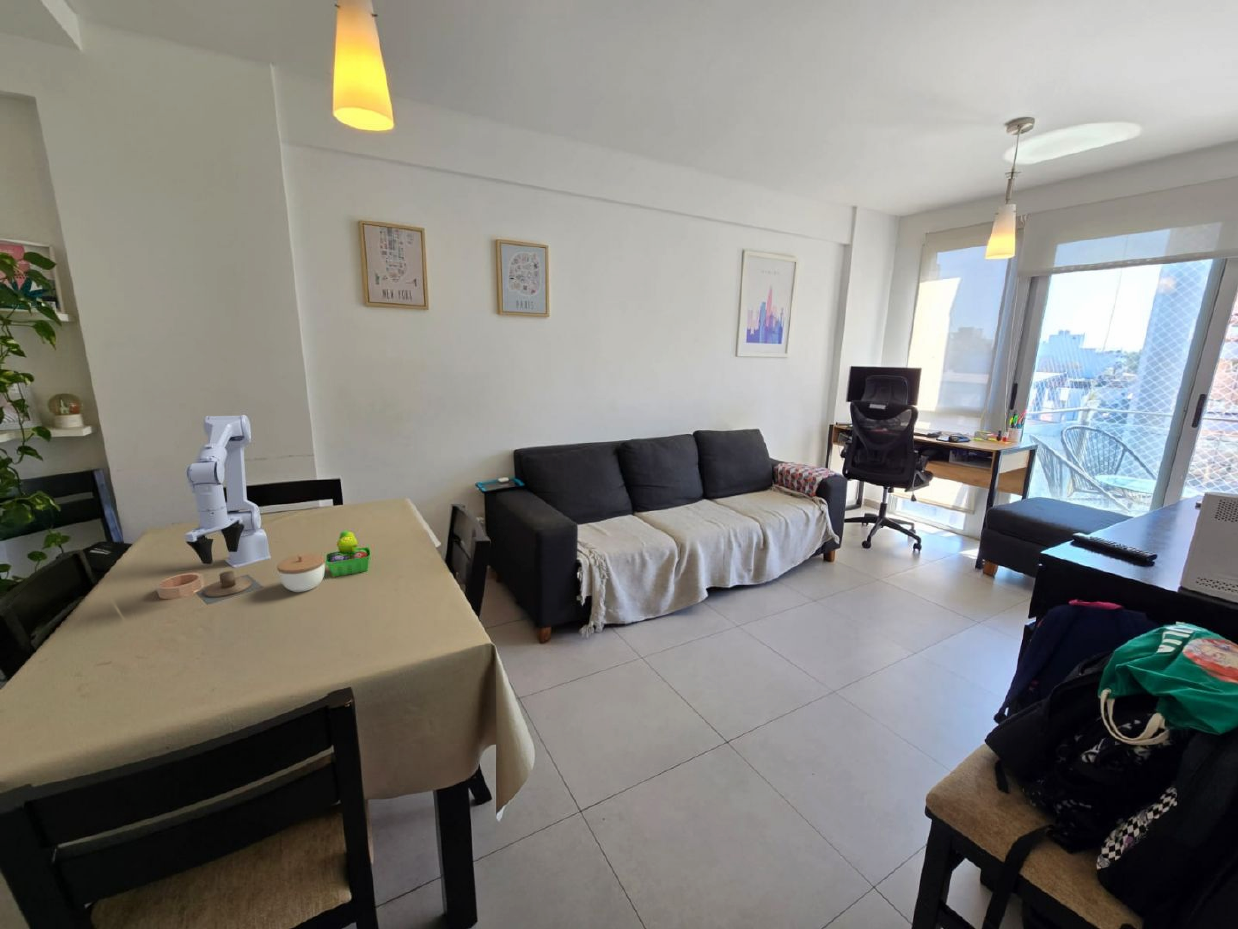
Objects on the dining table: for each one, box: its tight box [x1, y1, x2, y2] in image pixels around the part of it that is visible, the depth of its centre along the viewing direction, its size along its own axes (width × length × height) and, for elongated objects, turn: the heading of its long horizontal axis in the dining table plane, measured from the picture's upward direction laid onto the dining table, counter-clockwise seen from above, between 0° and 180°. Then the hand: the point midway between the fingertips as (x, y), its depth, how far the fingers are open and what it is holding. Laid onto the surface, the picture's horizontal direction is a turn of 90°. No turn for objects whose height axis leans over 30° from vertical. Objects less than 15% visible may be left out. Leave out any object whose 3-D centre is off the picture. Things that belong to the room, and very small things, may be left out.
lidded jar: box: [276, 553, 326, 593], centre depth 133 cm, size 11×11×9 cm
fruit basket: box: [325, 530, 372, 578], centre depth 144 cm, size 11×9×11 cm
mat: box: [195, 573, 264, 605], centre depth 132 cm, size 12×12×1 cm
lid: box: [204, 570, 252, 598], centre depth 131 cm, size 10×10×4 cm
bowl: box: [155, 572, 205, 600], centre depth 130 cm, size 9×9×3 cm
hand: (220, 557), depth 130 cm, fingers open, 7 cm apart
